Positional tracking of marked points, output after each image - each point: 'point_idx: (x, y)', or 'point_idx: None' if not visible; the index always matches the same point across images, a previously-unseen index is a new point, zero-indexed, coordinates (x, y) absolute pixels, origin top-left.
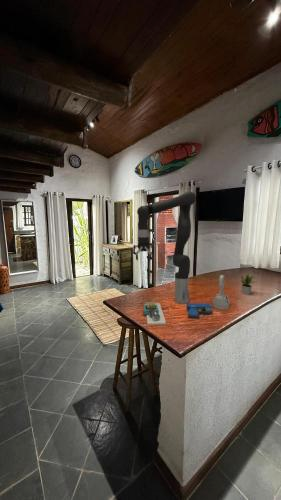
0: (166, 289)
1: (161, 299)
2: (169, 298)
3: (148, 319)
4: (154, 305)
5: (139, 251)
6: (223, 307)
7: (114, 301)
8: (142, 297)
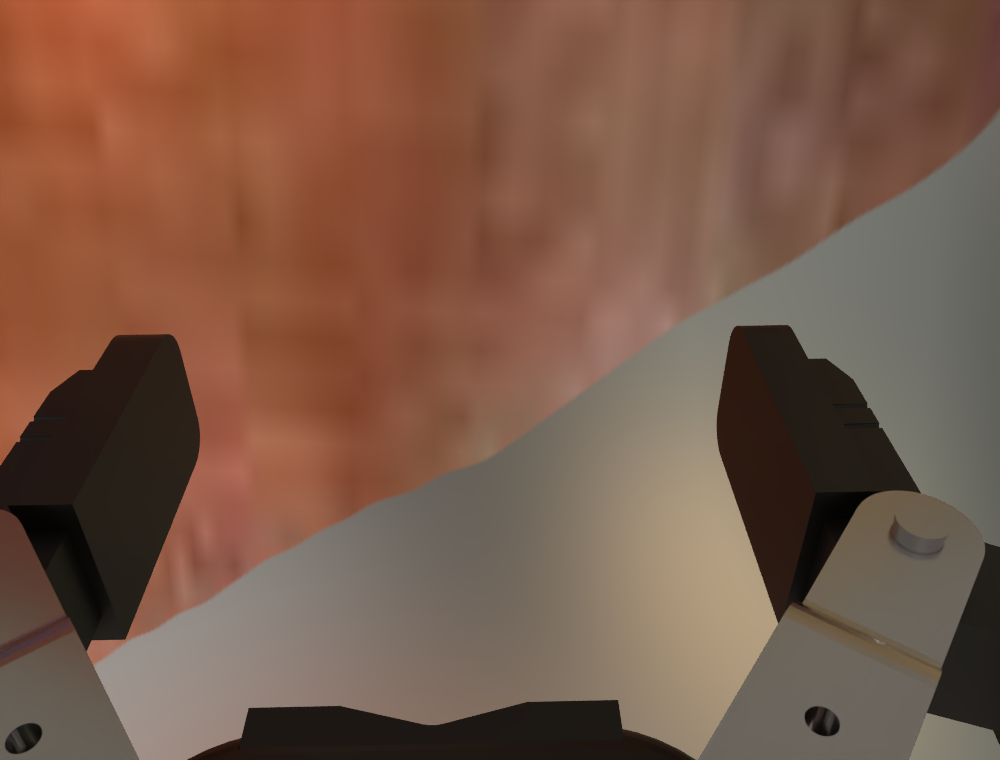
0: None
1: (199, 89)
2: (74, 122)
3: None
4: None
5: (784, 663)
6: None
7: (945, 58)
8: (498, 194)
